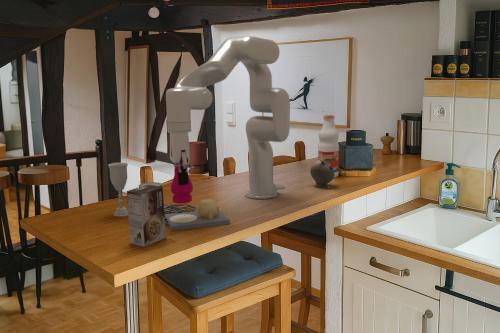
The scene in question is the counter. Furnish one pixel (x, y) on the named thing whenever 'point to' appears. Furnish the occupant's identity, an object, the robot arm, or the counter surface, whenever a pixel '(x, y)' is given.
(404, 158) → the counter surface
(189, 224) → the plate
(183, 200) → the pepper mill
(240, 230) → the counter surface
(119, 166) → the chalice
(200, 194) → the counter surface
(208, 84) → the robot arm
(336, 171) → the fruit juice
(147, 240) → the coffee box
